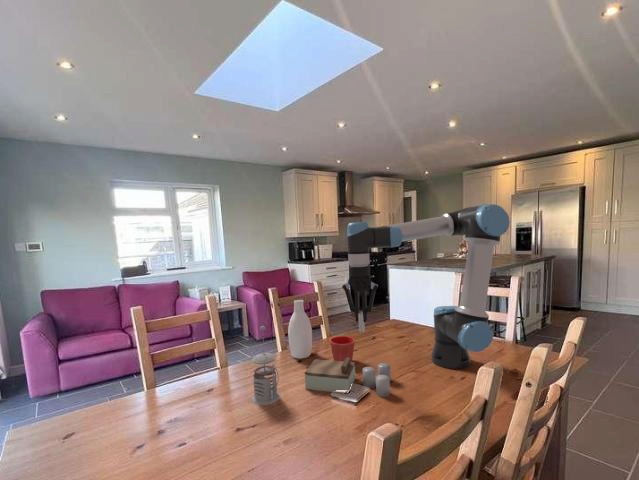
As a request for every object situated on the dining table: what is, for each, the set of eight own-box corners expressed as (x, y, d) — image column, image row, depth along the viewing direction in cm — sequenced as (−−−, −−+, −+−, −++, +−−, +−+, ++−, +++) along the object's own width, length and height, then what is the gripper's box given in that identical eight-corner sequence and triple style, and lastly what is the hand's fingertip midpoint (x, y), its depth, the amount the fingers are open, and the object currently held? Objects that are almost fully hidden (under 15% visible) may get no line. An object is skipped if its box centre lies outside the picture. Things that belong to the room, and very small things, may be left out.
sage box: (355, 378, 120) (354, 365, 120) (348, 393, 109) (348, 379, 109) (315, 374, 125) (315, 361, 125) (305, 388, 114) (304, 375, 114)
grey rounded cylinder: (390, 391, 110) (389, 375, 109) (389, 397, 105) (388, 381, 105) (377, 389, 111) (376, 374, 111) (375, 396, 106) (374, 380, 106)
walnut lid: (354, 364, 120) (354, 355, 120) (348, 378, 109) (347, 369, 109) (315, 361, 125) (314, 353, 125) (304, 374, 114) (304, 365, 114)
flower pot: (355, 356, 141) (354, 335, 141) (355, 367, 130) (354, 344, 130) (331, 357, 142) (330, 335, 142) (330, 367, 131) (329, 344, 131)
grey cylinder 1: (376, 382, 116) (375, 367, 116) (375, 388, 112) (374, 372, 112) (364, 381, 118) (363, 366, 118) (362, 387, 113) (361, 371, 113)
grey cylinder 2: (391, 378, 119) (390, 363, 119) (390, 383, 115) (389, 368, 115) (379, 377, 121) (378, 362, 120) (377, 382, 116) (377, 367, 116)
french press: (269, 387, 116) (266, 320, 116) (289, 398, 108) (285, 326, 107) (246, 398, 109) (242, 326, 109) (265, 410, 101) (261, 333, 100)
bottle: (317, 352, 148) (315, 299, 148) (304, 361, 139) (301, 304, 138) (298, 349, 154) (296, 297, 154) (284, 357, 145) (281, 302, 144)
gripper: (378, 264, 114) (381, 328, 115) (343, 264, 118) (346, 326, 119) (376, 266, 107) (379, 335, 108) (338, 266, 111) (341, 333, 111)
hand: (361, 330), depth 113 cm, fingers closed
